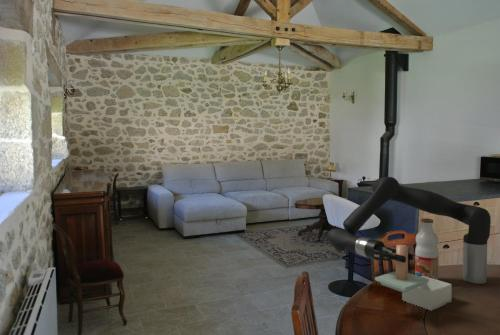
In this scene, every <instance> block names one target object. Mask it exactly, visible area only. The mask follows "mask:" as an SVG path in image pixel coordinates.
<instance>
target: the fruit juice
mask: <svg viewBox="0 0 500 335" xmlns="http://www.w3.org/2000/svg"><path fill="white" fill-rule="evenodd" d="M420 224H421V227H420V229H419V231H418V232H417V234H416V235H415V242H416V245H415V250H414V275H417V276H425V277H429V278H432V279H436V280H439V249H438V243H439V237H438V235H437V234H436V233H435V231H434V227H433V224H434V219H432V218H421V219H420Z"/></svg>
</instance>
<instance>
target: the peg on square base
mask: <svg viewBox="0 0 500 335" xmlns="http://www.w3.org/2000/svg"><path fill="white" fill-rule="evenodd" d="M395 246H396V254H398V255H402V256H405V257H406V262H404V263H403V262H400V261H396V260H395V262H396V263H395V271H391V272H388V273H385V274H381V275H379V276H375V277H374V281H376V282H378V283H380V286H381V285H382V286H384V287H387V288H390V289H391V290H395V291H397V292H399V293H402V292H403V293H404V292H407V291H410V290H412V289H415V288H418V287H420V286H423V284H424V283H427V282H429V279H427V278H424V277H420V276H417V275H415V273H414V274H412V273H410V272H409V271H408V270H409V268H408V267H409V260H408V253H409V245H407V244H402V243H401V244H396V245H395Z"/></svg>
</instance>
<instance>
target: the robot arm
mask: <svg viewBox="0 0 500 335" xmlns="http://www.w3.org/2000/svg"><path fill="white" fill-rule="evenodd" d="M371 190H372V192H373V193H372V194H371V195H370V196H369V197H368V198H367V199H366V200H365V201H364V202H362V203H361V204H360V205H359V206H357V207H356V208H355V209H354V210H353V211H352V212H351V213H350V214H349V215H348V216H347V217H346V218H345V220H344V221H343V222H342V225H343V228H344V229H341V228H333V229H332V228H331V229H330V230H329V231H328V232H327V234H326V237H327V240H328V242H329V243H330V245H331V246H332V247H333V248H334V249H335V250H336V251H338V252H344V251H345V250H347V251H348V252H350V253H353V254H357V255H360V256H362V257H365V258H369V259H371V260H374V261H375V260H376V261H380V260H381V261H384V262H385V261H386V262H391V261H392V262H396V261H400V262H403V263H404V262H406V257H405V256H402V255H398V254H396V245H395V246H394V247H391V246H387V245H385V243H384V242H383V241H382V240H379V239H374V238H370V237H362V236H359V235H356V234H357V233H358V232H359V230H361V228H362V227H363V226H364V225H365V224H366V223H367V221H368V220H369V219H370V218H371V217H372V216H373V215H374V214H375V213H376V212H377V211H378V210H379V209H380V208H382V206H384V205H385V204H386V203H387V202H388V201H390V200H391V201H395V202H399V203H402V204H404V205H407V206H408V207H409V206H410V207H412V208H414V209H417V210H420V211H422V212H424V213H425V212H426V213H427V214H428V213H429V214H432V215H436V216H444V217H448V218H452V219H454V220H457V221H458V222H460V223H463V224H464V225H467V226H468V231H467V233H465V234H464V235H463V241H462V242H463V244H462V246H463V247H462V280H463V281H465V282H466V283H470V284H475V285H476V284H477V285H478V284H479V285H481V284H486V283H487V279H488V278H487V277H488V241H489V238H490V234H491V225H492V224H491V219H492V218H491V214H490V212H489V210H487V209H486V208H484V207H481V206H478V205H477V206H476V205H473V204H472V205H471V204H466V203H463V202H462V203H461V202H457V201H453V200H452V199H451V198H448V197H446V196H444V195H441V194H439V193H436V192H434V191H430V190H428V189H423V188H415V187H409V186H404V185H400V183H399V181H398V180H397V179H396V178H395V177H392V176H384V177H383V176H382V177H379V178H377V179H375V181H373V183H372V185H371ZM413 260H414V254H413V253H410V252H408V261H413Z"/></svg>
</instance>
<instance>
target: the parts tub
mask: <svg viewBox="0 0 500 335" xmlns="http://www.w3.org/2000/svg"><path fill="white" fill-rule="evenodd" d="M420 277H424V278H427V279H429V282H427V283H424V284H423V286H420V287H418V288H415V289H412V290H410V291H407V292H404V293H403V292H401V297H402V298H401V301H402V300H403V301H402V302H405V301H406V303H408V304H410V303H411V305H413V304H414V305H413V306H416V305H417V306H416V307H419V306H420V308H421V307H423V308H422V309H424V308H425V309H424V310H427V309H428V311H430V310H431V311H430V312H433V311H434V309H435V310H436V309H439V308H441V307H443V306H445V305H448V304H449V303H452V292H453V291H452V289H453V288H452V286H453V285H452V283H449V282H446V281H443V280H439V279H438V280H436V279H432V278H429V277H425V276H420ZM447 303H448V304H447ZM432 310H433V311H432Z"/></svg>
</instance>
